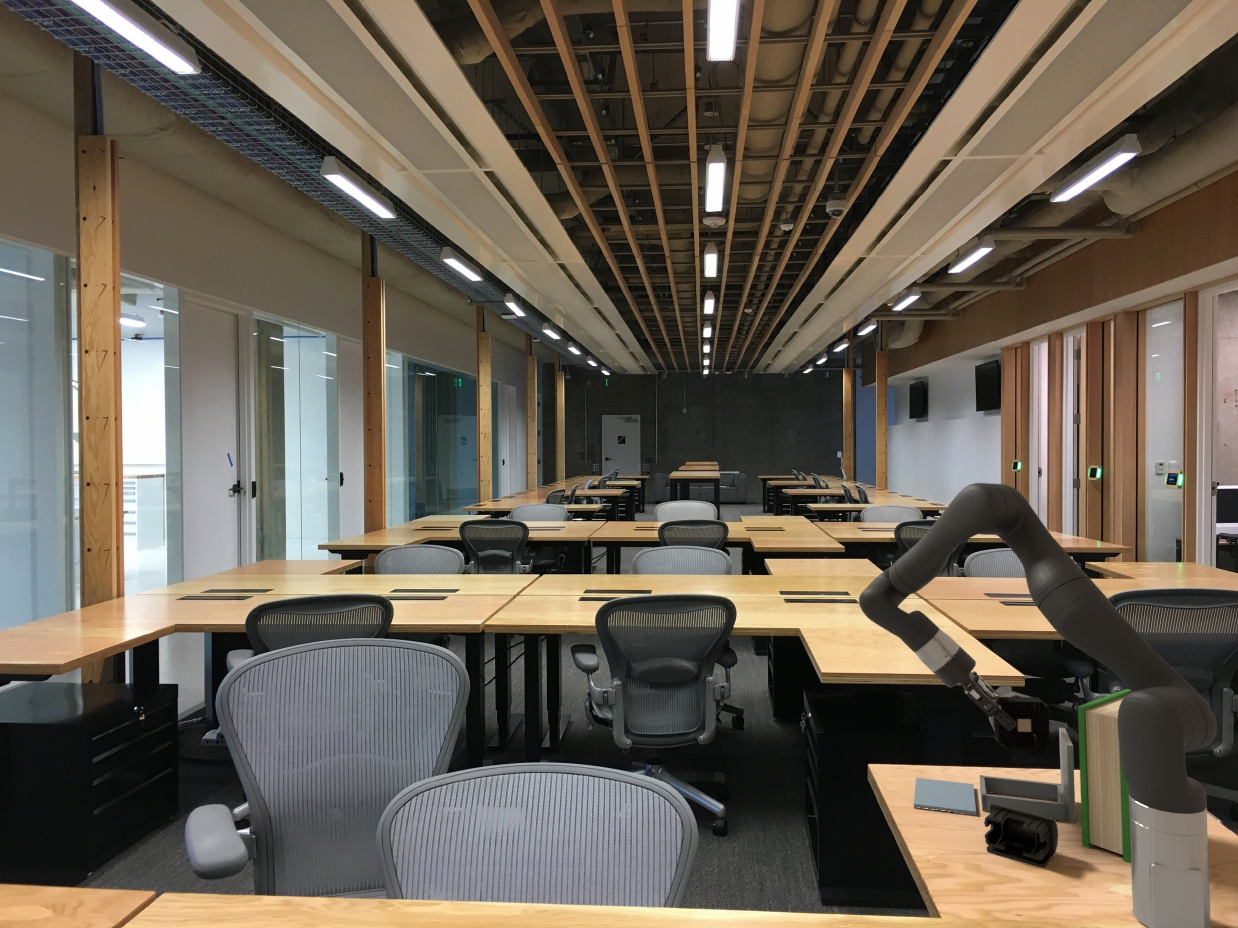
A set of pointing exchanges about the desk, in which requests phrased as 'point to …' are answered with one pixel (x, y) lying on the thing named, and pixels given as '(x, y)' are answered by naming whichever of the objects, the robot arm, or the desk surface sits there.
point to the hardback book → (1103, 777)
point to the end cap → (1021, 835)
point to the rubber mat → (945, 796)
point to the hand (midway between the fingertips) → (1011, 722)
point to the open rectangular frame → (1036, 789)
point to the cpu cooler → (1023, 722)
